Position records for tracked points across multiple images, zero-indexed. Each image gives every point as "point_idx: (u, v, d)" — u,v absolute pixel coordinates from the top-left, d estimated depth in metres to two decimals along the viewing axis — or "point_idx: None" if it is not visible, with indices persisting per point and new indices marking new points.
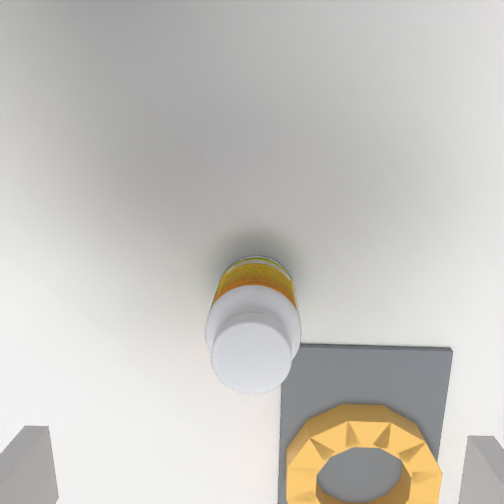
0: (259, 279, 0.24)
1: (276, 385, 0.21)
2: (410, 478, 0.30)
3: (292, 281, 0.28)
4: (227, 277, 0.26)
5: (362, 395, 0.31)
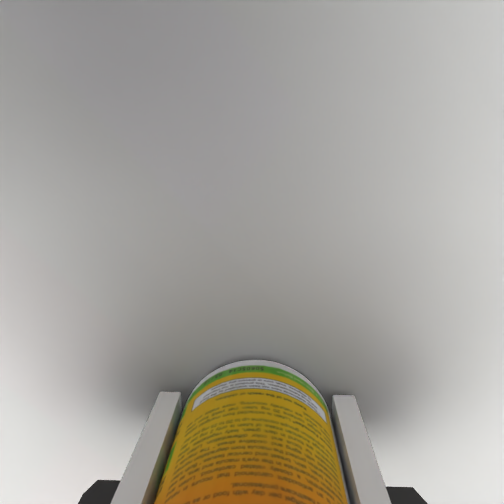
0: (261, 474, 0.09)
1: None
2: None
3: (328, 412, 0.14)
4: (191, 430, 0.12)
5: None
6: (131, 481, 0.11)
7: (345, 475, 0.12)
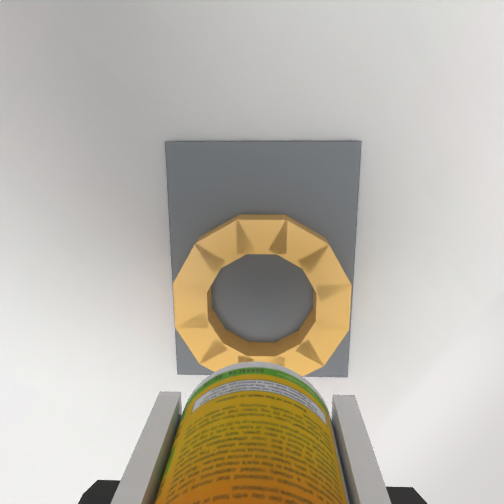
0: (261, 477, 0.09)
1: None
2: (316, 295, 0.26)
3: (328, 414, 0.14)
4: (191, 432, 0.12)
5: (260, 203, 0.27)
6: (131, 481, 0.11)
7: (345, 475, 0.12)
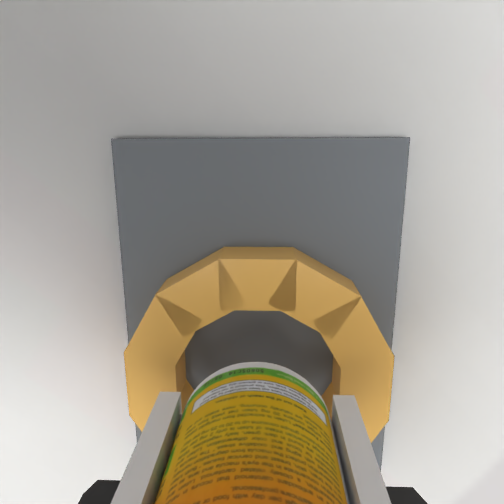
0: (261, 477, 0.09)
1: None
2: (339, 369, 0.17)
3: (328, 414, 0.14)
4: (191, 433, 0.12)
5: (256, 230, 0.18)
6: (131, 481, 0.11)
7: (345, 475, 0.12)
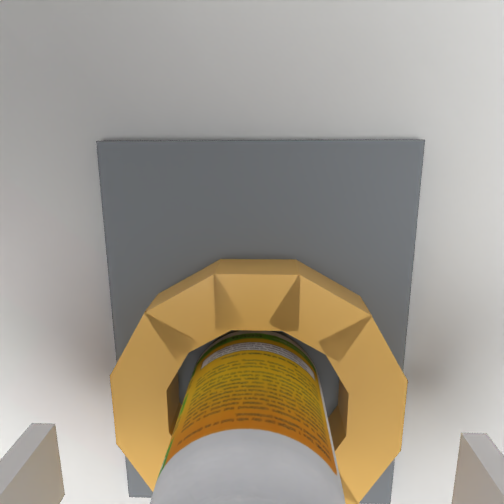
0: (259, 407, 0.12)
1: None
2: (347, 394, 0.16)
3: (317, 374, 0.17)
4: (201, 382, 0.14)
5: (256, 241, 0.16)
6: None
7: None
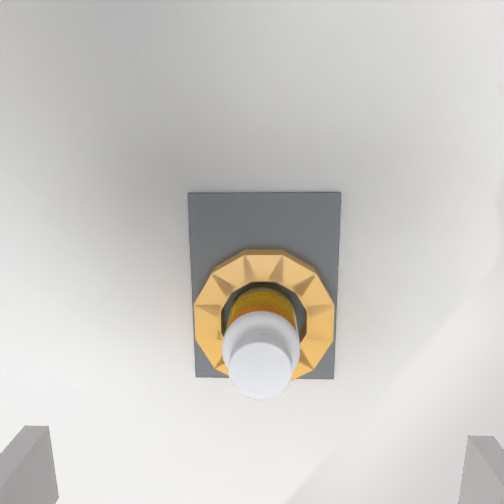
0: (265, 306, 0.29)
1: (280, 392, 0.26)
2: (306, 313, 0.33)
3: (292, 305, 0.34)
4: (238, 303, 0.32)
5: (262, 240, 0.34)
6: None
7: None
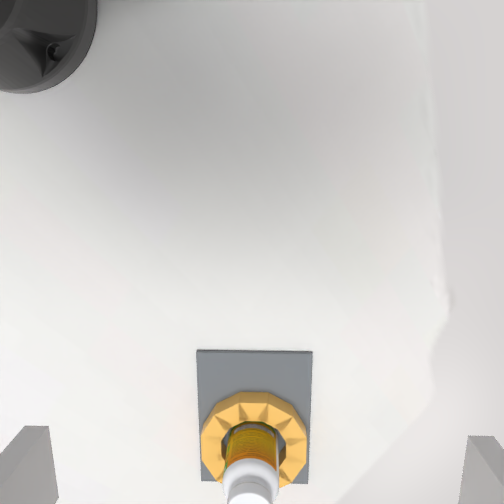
0: (254, 451, 0.40)
1: None
2: (286, 442, 0.44)
3: (276, 434, 0.44)
4: (234, 440, 0.42)
5: (253, 385, 0.44)
6: None
7: None
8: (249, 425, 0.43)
